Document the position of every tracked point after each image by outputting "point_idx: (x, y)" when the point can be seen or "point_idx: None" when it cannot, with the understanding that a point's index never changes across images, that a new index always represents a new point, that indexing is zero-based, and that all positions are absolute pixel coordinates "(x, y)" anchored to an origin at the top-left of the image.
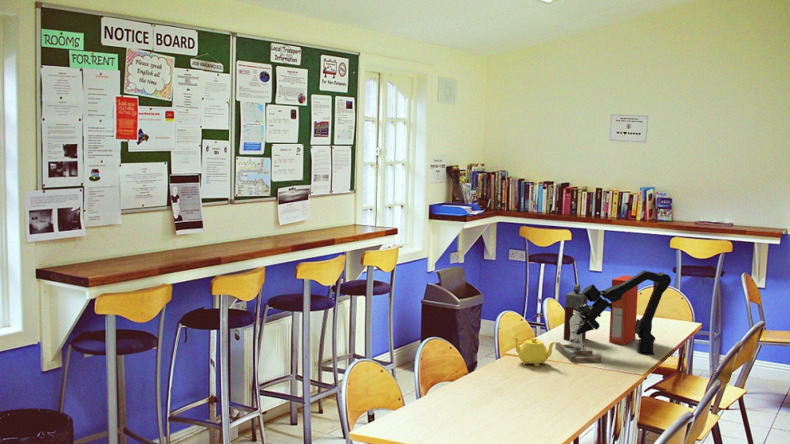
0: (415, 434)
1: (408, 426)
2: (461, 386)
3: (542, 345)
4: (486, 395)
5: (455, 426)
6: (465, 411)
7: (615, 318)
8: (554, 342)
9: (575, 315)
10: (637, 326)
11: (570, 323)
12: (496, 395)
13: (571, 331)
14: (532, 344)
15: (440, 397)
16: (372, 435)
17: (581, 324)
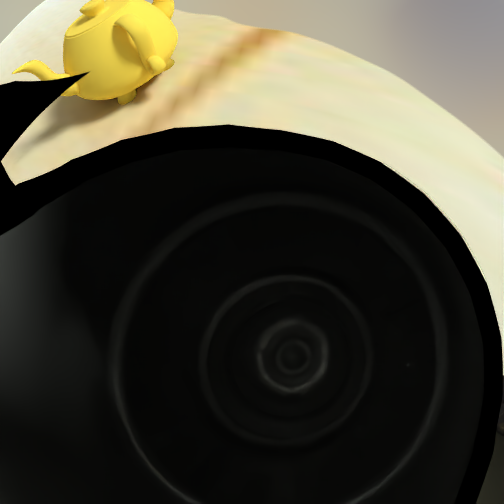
0: (20, 23)
1: (33, 14)
2: (82, 6)
3: (63, 44)
4: (36, 37)
5: (8, 39)
6: (22, 35)
7: None
8: (16, 69)
9: (64, 181)
10: None
11: (277, 199)
12: (28, 47)
13: (269, 271)
14: (79, 18)
15: (66, 5)
16: (38, 5)
17: (115, 406)
